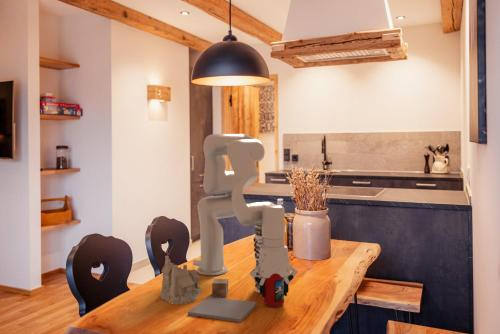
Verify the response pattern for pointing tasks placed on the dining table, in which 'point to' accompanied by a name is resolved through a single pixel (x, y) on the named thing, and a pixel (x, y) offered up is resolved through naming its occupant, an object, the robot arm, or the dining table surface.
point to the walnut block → (220, 288)
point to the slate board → (223, 309)
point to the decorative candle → (257, 251)
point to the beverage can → (274, 290)
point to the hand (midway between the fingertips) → (274, 294)
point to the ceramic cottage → (179, 284)
